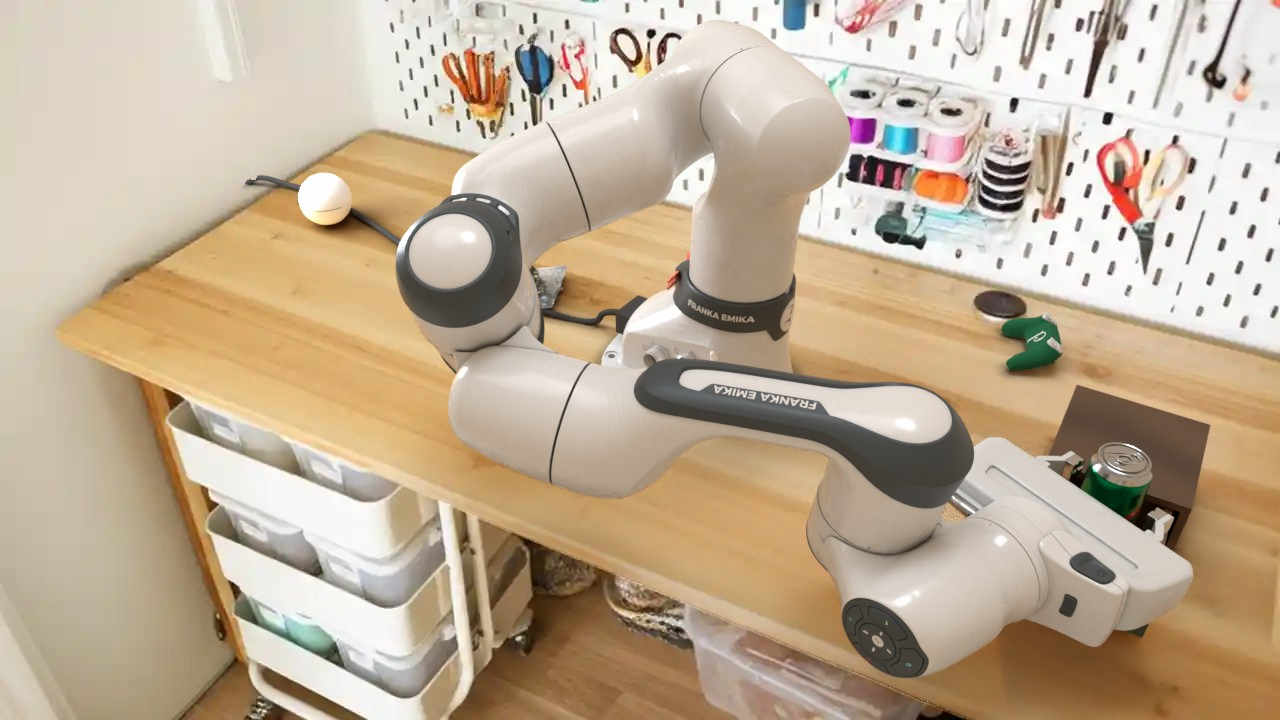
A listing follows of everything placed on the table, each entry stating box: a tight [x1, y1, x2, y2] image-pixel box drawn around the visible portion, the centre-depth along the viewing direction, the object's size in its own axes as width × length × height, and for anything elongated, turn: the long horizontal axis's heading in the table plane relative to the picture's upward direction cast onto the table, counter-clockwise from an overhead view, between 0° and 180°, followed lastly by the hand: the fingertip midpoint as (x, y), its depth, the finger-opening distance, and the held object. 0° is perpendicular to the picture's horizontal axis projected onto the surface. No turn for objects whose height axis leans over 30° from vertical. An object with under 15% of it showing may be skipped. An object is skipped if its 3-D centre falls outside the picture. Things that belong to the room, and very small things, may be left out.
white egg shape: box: [296, 172, 353, 226], centre depth 146 cm, size 10×7×7 cm
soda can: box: [1080, 442, 1153, 525], centre depth 92 cm, size 5×5×12 cm
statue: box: [529, 264, 569, 309], centre depth 131 cm, size 11×9×15 cm
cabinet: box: [1047, 384, 1211, 552], centre depth 102 cm, size 14×13×8 cm
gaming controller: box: [1000, 311, 1063, 372], centre depth 124 cm, size 9×4×6 cm
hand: (1119, 488), depth 91 cm, fingers open, 7 cm apart
